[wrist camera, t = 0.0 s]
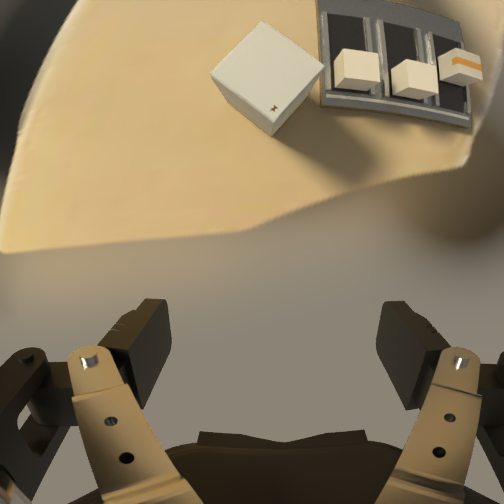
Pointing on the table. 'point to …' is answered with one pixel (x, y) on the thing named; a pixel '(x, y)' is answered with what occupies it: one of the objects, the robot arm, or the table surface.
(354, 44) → the grey flat slotted panel
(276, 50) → the supplement box
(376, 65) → the handle
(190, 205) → the table surface
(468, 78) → the block
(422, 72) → the handle
